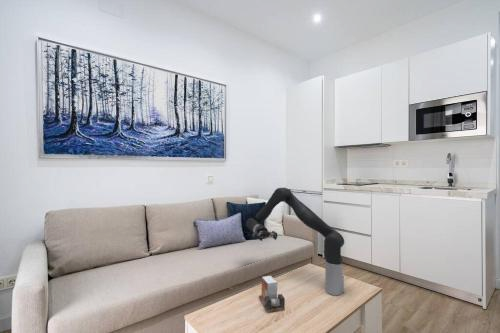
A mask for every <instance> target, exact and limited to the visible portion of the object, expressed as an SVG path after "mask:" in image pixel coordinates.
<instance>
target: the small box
mask: <svg viewBox="0 0 500 333" xmlns="http://www.w3.org/2000/svg"><path fill="white" fill-rule="evenodd" d="M261 295H262V297H263V298H264V300H265V296H269V297H270V299H276V298H278V281H277V280H275V278H274V277H272V275H267V276H266V275H265V276H262V277H261Z"/></svg>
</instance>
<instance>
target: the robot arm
mask: <svg viewBox="0 0 500 333" xmlns="http://www.w3.org/2000/svg"><path fill="white" fill-rule="evenodd" d="M283 202H284V203H286V204H287V205H288V206H289V207H290V208H291V209H292V210H293V213H294V214H295V215H296V217H297V219H298V220H299V221H300V222H301V223H303V224H304V225H305V226H306V227H307V228H310V229H312V230H314V231H315V232H317V233H319V234H320V235H321V236H322V237H324V240H323V241H324V242H323V249H324V250H323V252H324V253H323V254H324V258H325V259H324V260H325V261H324V262H325V263H324V264H325V270H324V272H325V275H324V276H325V278H324V281H325V282H324V283H325V284H324V292H326V293H327V294H329V295H331V296H341V295H342V294H344V291H345V289H344V288H345V287H344V286H345V284H344V283H345V282H344V281H345V280H344V279H345V277H344V275H343V257H342V255H341V254H342V253H341V250H342V248H343V246H344V244H345V239H344V237H343V235H342V234H341V233H339V232H338V231H337V230H335V229H334V228H333V227H332V226H330V225H328V224H327V223H326V222H325V221H324V220H323V219H322V218H321V217H320V216H318V215H317V214H316V213H315V212H314V211H313V210H312V209H311V208H310V207H308V206H307V205H306V204H304V203H303V202H302V201H301V200H299V198H298V197H297V196H296V195H294V193H292V191H291V190H290V189H288V188H287V187H278V188H275V190H274V191H273V193H272V195H270V198H269V199H268V200H267V202H266V203H264V205H263V207H261V209H260V210H259V211H258V212H257V213H256V214H255V219H254V218H253V217H252V218H251V217H250V218H248V219H247V220H246V221H245V222H246V223H245V224H246V226H245V227H247V229H249V230H250V231H252V238H253V239H254V240H259V241H261V242H263V239H266V238H268V239H273V240H274V241H277V239H278V232H276V231H274V230H272V231H269V230H268V228H267V227H265V226H264V225H263V223H264V222H265V221H266V220H267V219H268V218H269V216H270V215H271V214H272V212H273V210H274V209H275V208H276V206H278V205H279V204H280V203H283Z"/></svg>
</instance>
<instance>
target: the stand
mask: <svg viewBox="0 0 500 333" xmlns="http://www.w3.org/2000/svg"><path fill="white" fill-rule="evenodd" d="M285 298H286V297H285V296H284V295H283V294H282V293H279V294H278V293H277V298H276V299H270V297H269V296H265V300H264V298H263V297H262V294H261V295H260V294H259V296H258V299H259V301H260V302H261V304H262V305H263V308H264V309H265V311H266V313H267V314H271V313H277V312H283V311H285V309H286V308H285V305H286V304H285V302H286V300H285Z"/></svg>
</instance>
